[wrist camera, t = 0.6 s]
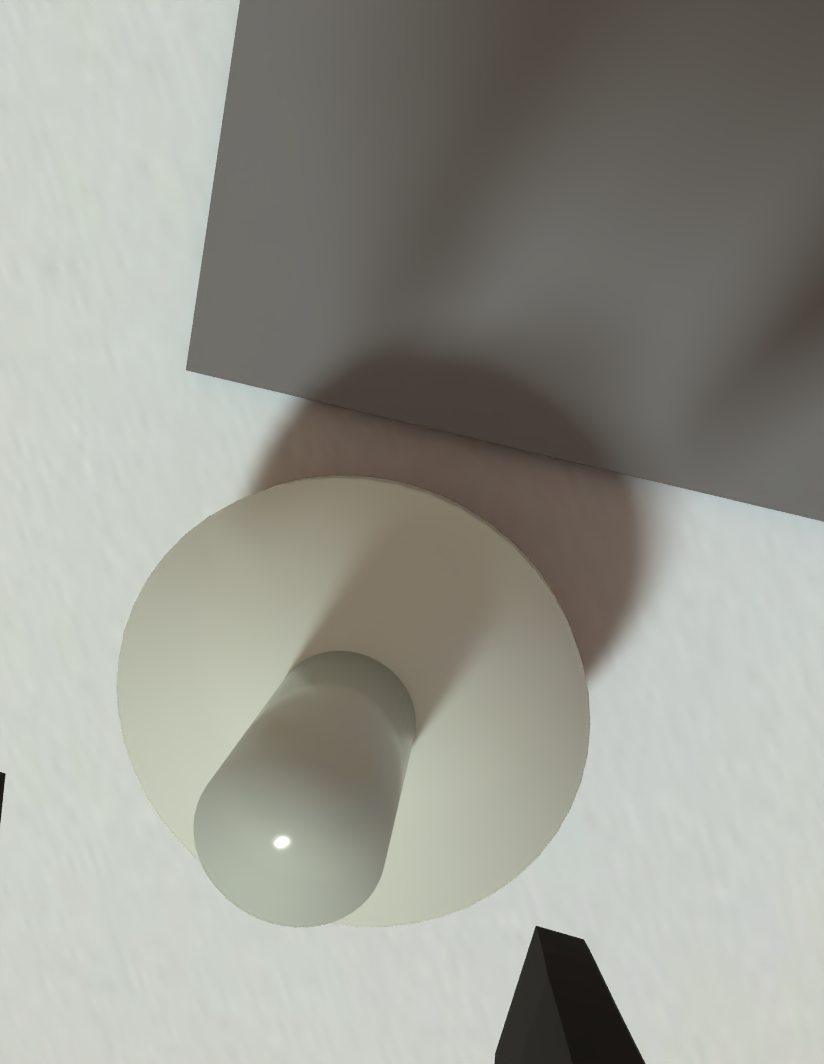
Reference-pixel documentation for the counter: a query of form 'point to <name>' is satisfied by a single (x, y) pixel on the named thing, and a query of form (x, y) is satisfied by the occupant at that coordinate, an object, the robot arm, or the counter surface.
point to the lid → (353, 703)
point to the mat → (534, 228)
